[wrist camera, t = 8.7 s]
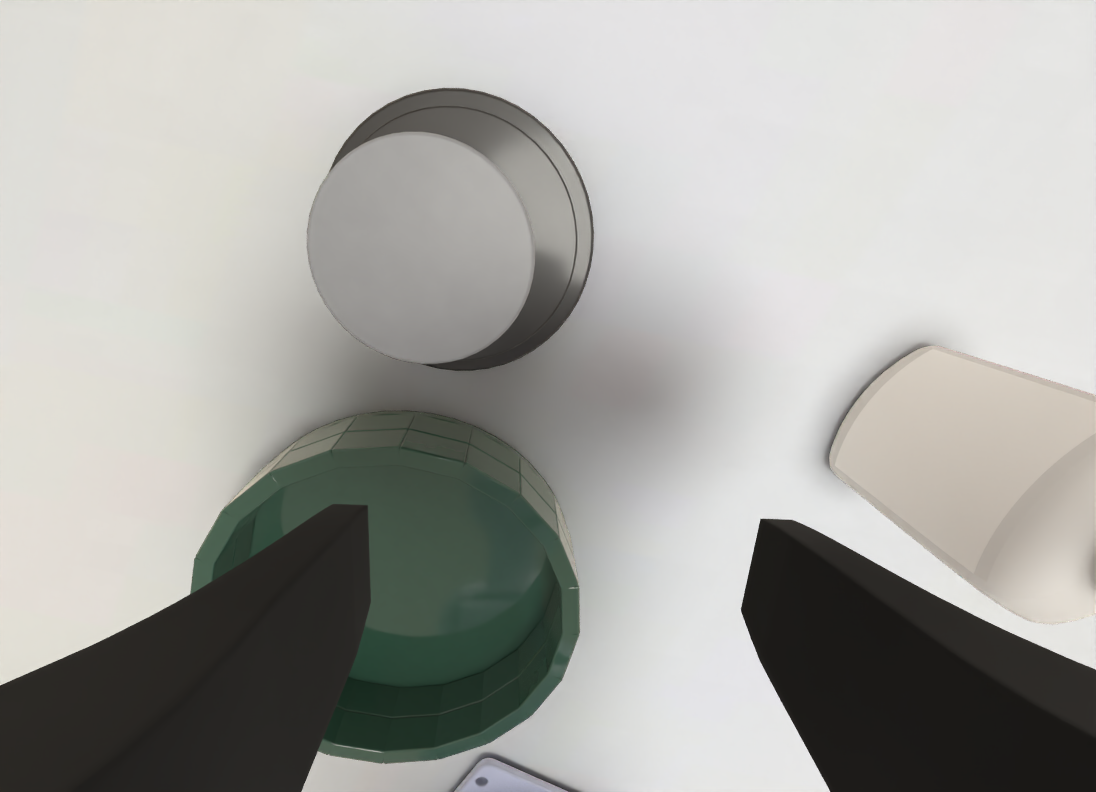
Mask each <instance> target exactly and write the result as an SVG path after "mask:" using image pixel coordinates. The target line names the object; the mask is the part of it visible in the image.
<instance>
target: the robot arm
mask: <svg viewBox="0 0 1096 792" xmlns="http://www.w3.org/2000/svg"><path fill="white" fill-rule="evenodd" d="M370 604H371V588H370V557H369V525H368V505H350V504H332V505H330V506H328V507H326V508H325V509H323V510H322V511H320V512H318V513H317V514H315V515H314V516H312V517H311V518H309V519H308V520H306V521H305V522H303V523H302V524H300V525H299V526H297V527H296V528H295V529H293V530H292V531H290V532H289V533H287V534H286V535H284V536H283V537H281V538H280V539H278V540H277V541H275V542H274V543H272V544H271V545H269V546H268V547H266V548H265V549H263V550H261V551H260V552H258V553H257V554H255V555H254V556H252V557H251V558H249V559H248V560H246V561H245V562H243V563H241V564H240V565H238V566H236V567H235V568H233V569H232V570H230V571H228V572H227V573H225V574H223V575H222V576H220V577H218V578H217V579H215V580H213V581H212V582H210V583H208V584H207V585H205V586H203V587H202V588H200V589H198V590H197V591H195V592H193V593H192V594H190V595H188V596H187V597H185V598H183V599H181V600H180V601H178V602H176V603H174V604H172V605H171V606H169V607H167V608H165V609H163V610H161V611H159V612H158V613H156V614H154V615H152V616H150V617H148V618H146V619H144V620H142V621H140V622H138V623H136V624H134V625H132V626H130V627H128V628H126V629H124V630H122V631H120V632H118V633H116V634H114V635H112V636H110V637H108V638H106V639H104V640H102V641H100V642H98V643H96V644H94V645H92V646H89V647H87V648H85V649H83V650H80V651H78V652H76V653H74V654H71V655H69V656H67V657H64V658H62V659H60V660H58V661H55V662H53V663H51V664H48V665H46V666H44V667H42V668H39V669H37V670H35V671H32V672H30V673H28V674H26V675H23V676H21V677H19V678H16V679H14V680H12V681H10V682H7V683H5V684H3V685H0V792H301V791H302V788H303V786H304V783H305V781H306V778H307V776H308V774H309V771H310V769H311V766H312V764H313V761H314V759H315V756H316V754H317V752H318V749H319V747H320V744H321V742H322V739H323V737H324V735H325V732H326V730H327V727H328V725H329V722H330V720H331V718H332V715H333V713H334V710H335V708H336V705H337V703H338V700H339V698H340V696H341V693H342V691H343V688H344V686H345V683H346V681H347V678H348V676H349V673H350V671H351V668H352V666H353V663H354V661H355V658H356V656H357V652H358V648H359V645H360V641H361V638H362V634H363V631H364V627H365V623H366V619H367V615H368V611H369V608H370ZM741 612H742V615H743V617H744V620H745V623H746V626H747V628H748V631H749V634H750V637H751V639H752V642H753V644H754V647H755V649H756V652H757V654H758V657H759V659H760V662H761V664H762V666H763V668H764V669H765V671H766V673H767V675H768V677H769V679H770V681H771V683H772V685H773V687H774V688H775V690H776V692H777V694H778V696H779V698H780V700H781V702H782V703H783V705H784V707H785V709H786V711H787V713H788V714H789V716H790V718H791V720H792V722H793V724H794V725H795V727H796V729H797V731H798V733H799V735H800V736H801V738H802V740H803V742H804V744H805V746H806V747H807V749H808V751H809V753H810V755H811V757H812V759H813V760H814V762H815V764H816V766H817V768H818V770H819V771H820V773H821V775H822V777H823V779H824V781H825V782H826V784H827V786H828V788H829V790H830V792H1096V670H1095V669H1093V668H1090V667H1088V666H1085V665H1083V664H1080V663H1078V662H1076V661H1073V660H1071V659H1068V658H1066V657H1064V656H1062V655H1059V654H1057V653H1055V652H1053V651H1050V650H1048V649H1046V648H1043V647H1041V646H1039V645H1037V644H1034V643H1032V642H1030V641H1028V640H1025V639H1023V638H1021V637H1019V636H1016V635H1014V634H1012V633H1010V632H1008V631H1005V630H1003V629H1001V628H999V627H997V626H995V625H993V624H991V623H989V622H986V621H984V620H982V619H980V618H978V617H976V616H974V615H972V614H970V613H968V612H966V611H965V610H963V609H961V608H959V607H957V606H955V605H953V604H951V603H949V602H947V601H945V600H943V599H941V598H939V597H937V596H935V595H933V594H931V593H929V592H927V591H926V590H924V589H922V588H920V587H918V586H916V585H914V584H912V583H911V582H909V581H907V580H905V579H903V578H901V577H900V576H898V575H896V574H894V573H892V572H891V571H889V570H887V569H885V568H883V567H882V566H880V565H878V564H876V563H874V562H873V561H871V560H869V559H867V558H865V557H864V556H862V555H860V554H858V553H856V552H855V551H853V550H851V549H849V548H847V547H846V546H844V545H842V544H840V543H838V542H836V541H835V540H833V539H831V538H829V537H827V536H825V535H823V534H821V533H820V532H818V531H816V530H814V529H812V528H810V527H807V526H805V525H803V524H801V523H798V522H796V521H794V520H780V519H761V520H760V524H759V529H758V533H757V538H756V543H755V547H754V552H753V556H752V561H751V566H750V570H749V575H748V579H747V584H746V589H745V593H744V598H743V602H742V607H741ZM454 792H568V791H566V790H564V789H561V788H559V787H557V786H555V785H552V784H550V783H548V782H545V781H543V780H541V779H539V778H536V777H534V776H532V775H530V774H527V773H525V772H523V771H521V770H518V769H516V768H514V767H511V766H509V765H507V764H505V763H502V762H500V761H498V760H496V759H493V758H485V759H482V760H481V761H479V762H478V763H477V765H476V766H475V767H474V768H473V769H472V771H471V772H470V773H469V774H468V775H467V777H466V778H465V779H464V780H463V781H462V783H461V784H460V785H459V786H458V787H457V789H456V790H455V791H454Z"/></svg>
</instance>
